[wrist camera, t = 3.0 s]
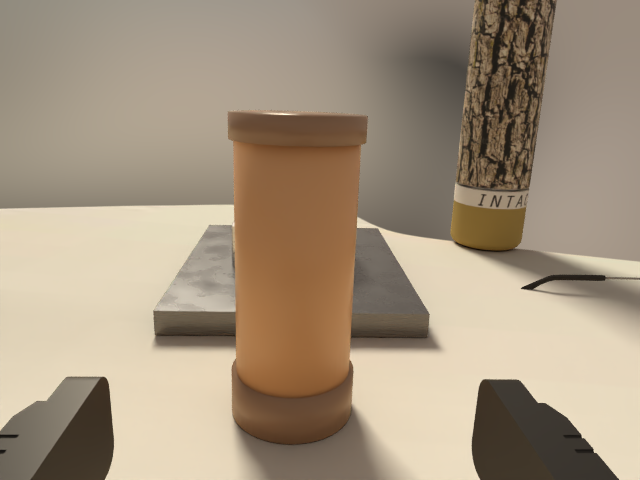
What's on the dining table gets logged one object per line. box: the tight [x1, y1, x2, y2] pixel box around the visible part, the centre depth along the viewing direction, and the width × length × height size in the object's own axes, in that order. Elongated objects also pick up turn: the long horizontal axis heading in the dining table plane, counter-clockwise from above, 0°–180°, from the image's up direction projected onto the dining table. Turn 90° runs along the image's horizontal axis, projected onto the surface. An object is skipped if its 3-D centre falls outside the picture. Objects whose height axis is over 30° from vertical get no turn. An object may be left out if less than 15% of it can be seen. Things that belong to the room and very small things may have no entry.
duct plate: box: [153, 222, 430, 337], centre depth 39 cm, size 16×20×4 cm
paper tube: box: [451, 0, 557, 250], centre depth 48 cm, size 7×7×25 cm
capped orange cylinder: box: [228, 110, 368, 444], centre depth 22 cm, size 5×5×13 cm
